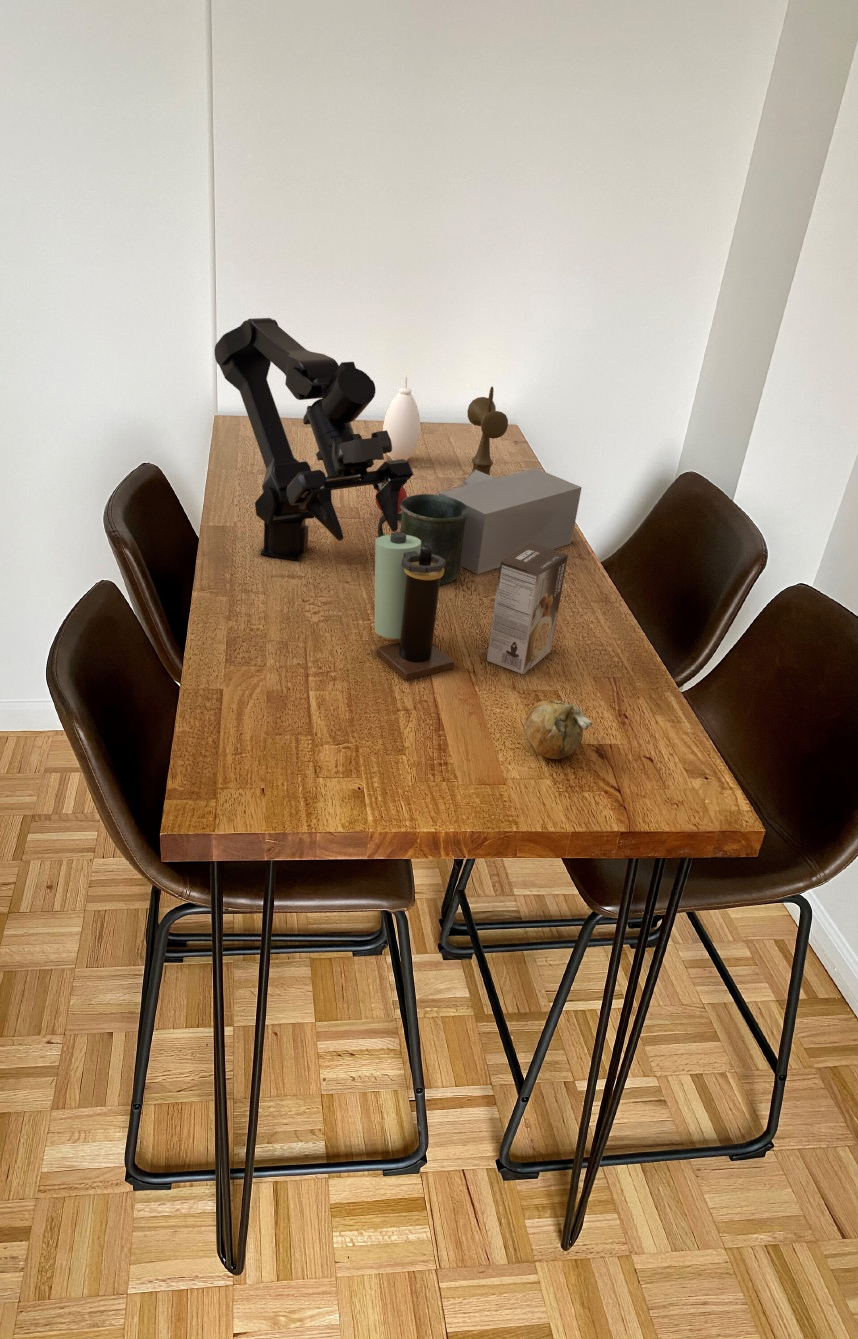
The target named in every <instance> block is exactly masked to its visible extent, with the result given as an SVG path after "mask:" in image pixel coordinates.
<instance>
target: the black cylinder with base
mask: <svg viewBox="0 0 858 1339" xmlns="http://www.w3.org/2000/svg"><path fill="white" fill-rule="evenodd" d="M431 558H432V548H431V546H429V545H423V546H422V547H421V549H420V559H419V561H414V562H410V563H412V564H414V565H423V566H428V565H434V564H436V563H434V562H432V561H431ZM404 571H405V573H406V574H407V577H406V587H405V597H404V607H403V617H402V627H401V637H400V639H399V641H397V642H394V643H391V644H386V645H381V646H377V647H376V651H375V656H377V657H378V658H379V659H380V660H382V661H383V662H384V663H385V664H386V665H387V666H388V667H389V668H391V669H392V670H393V671H394V672H395V673H396V674H398V675H399V677H401V679H403V680H404V681H405V682H407V681H412V680H415V679H419V678H423V677H428V676H431V675H434V674H438V673H441V672H446V671H450V670H453V669H454V665H455V664H454V662H455V661H454V660H453V659H451V657H449V656H448V655H446V654H445V653H443V651H441V650H440V649H439V648H438V647H436V646H435V645H434V644H433V643H434V636H435V628H436V619H437V610H438V601H439V594H440V586H441V585H440V578H441V577H442V576H443V575H444V568H443V569H442V570H440V571H437V572H431V573H419V572H411V571H408V570H407V569H405V568H404Z"/></svg>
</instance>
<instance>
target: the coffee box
mask: <svg viewBox="0 0 858 1339" xmlns="http://www.w3.org/2000/svg"><path fill="white" fill-rule="evenodd" d="M568 557H569V554H568V553H564V552H561V551H558V550H555V549H553V550H552V549H549V548H546V547H542V546H539V545H535V544H532V543H528V544H527V545H525V546H524V547H522V548H521V549H519V550H518V551H516V552H515V553H513V554H511V555H510V556H508V557H507V558H505V559H504V560H502V561H501V562H500V567H499V572H498V578H497V586H496V592H495V598H494V606H493V613H492V619H491V620H492V621H491V625H490V626H491V628H490V635H489V640H488V648H487V655H486V661H487V662H489V663H492V664H494V665H497V666H500V667H502V668H505V669H508V670H510V671H513V672H516V673H518V674H520V675H525V674H526V673H527V672H529V671H530V670H531V669H532V668H533V667H534V666H536V664H538V663H539V662H540V661H541V660H543V659H544V658H545V657H546V656H548V654H550V653H551V652H552V647H553V641H554V636H555V630H556V624H557V619H558V614H559V613H558V612H559V608H560V602H561V597H562V591H563V585H564V580H565V573H566V569H567V563H568V562H567V561H568V559H569V558H568Z"/></svg>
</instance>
